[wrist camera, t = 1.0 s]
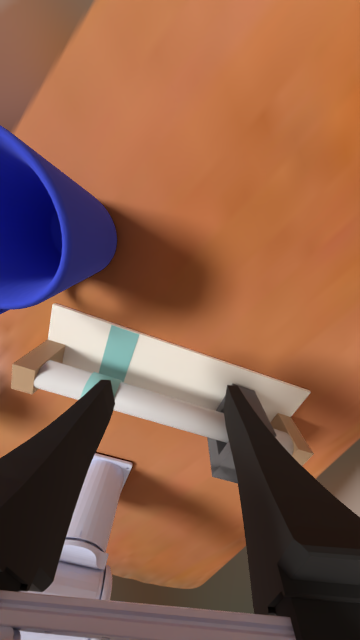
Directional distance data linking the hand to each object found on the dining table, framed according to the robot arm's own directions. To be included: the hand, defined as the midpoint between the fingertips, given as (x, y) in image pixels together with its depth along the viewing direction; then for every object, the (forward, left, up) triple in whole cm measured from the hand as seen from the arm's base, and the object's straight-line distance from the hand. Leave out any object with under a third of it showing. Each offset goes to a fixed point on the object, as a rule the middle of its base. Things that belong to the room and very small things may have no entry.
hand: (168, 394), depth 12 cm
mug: (+4, +12, -10) cm, 16 cm away
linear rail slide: (-8, -3, -10) cm, 13 cm away
